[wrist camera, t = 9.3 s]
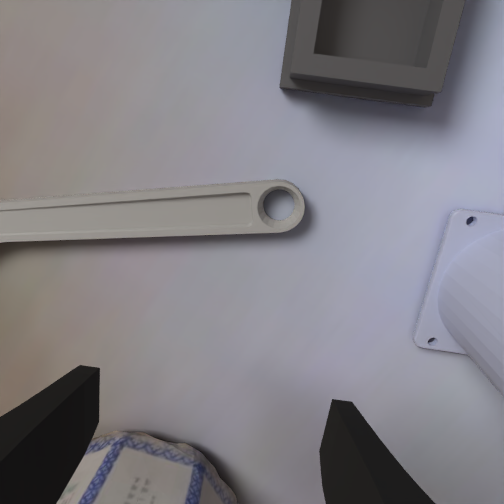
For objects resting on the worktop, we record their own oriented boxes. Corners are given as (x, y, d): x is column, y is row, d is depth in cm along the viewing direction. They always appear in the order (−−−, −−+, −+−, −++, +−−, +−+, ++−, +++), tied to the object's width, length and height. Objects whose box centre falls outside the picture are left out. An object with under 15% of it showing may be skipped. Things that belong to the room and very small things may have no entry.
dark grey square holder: (470, -70, 16) (505, -107, 13) (424, 107, 18) (448, 103, 16) (304, -90, 16) (309, -130, 13) (279, 87, 18) (279, 81, 16)
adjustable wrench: (304, 174, 20) (307, 178, 18) (298, 286, 22) (300, 299, 20) (-140, 166, 21) (-176, 169, 20) (-107, 272, 23) (-137, 283, 22)
